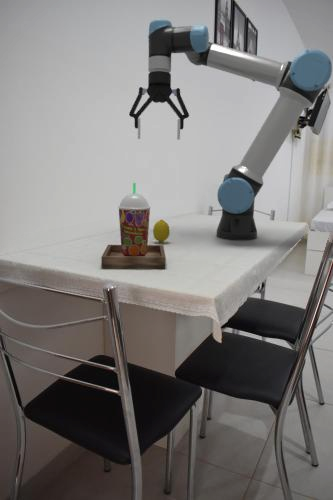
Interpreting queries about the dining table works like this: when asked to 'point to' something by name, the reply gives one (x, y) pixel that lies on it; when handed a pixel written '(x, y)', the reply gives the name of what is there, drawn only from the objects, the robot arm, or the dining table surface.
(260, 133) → the robot arm
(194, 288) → the dining table surface
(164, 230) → the lemon
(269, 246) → the dining table surface
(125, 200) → the smoothie
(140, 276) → the dining table surface
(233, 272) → the dining table surface
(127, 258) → the walnut tray
